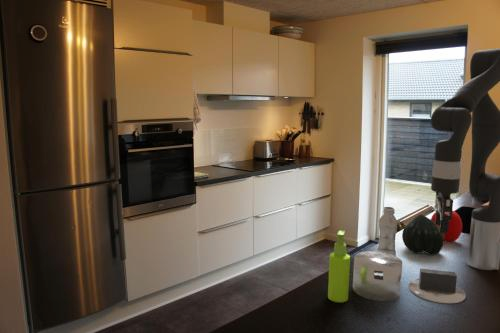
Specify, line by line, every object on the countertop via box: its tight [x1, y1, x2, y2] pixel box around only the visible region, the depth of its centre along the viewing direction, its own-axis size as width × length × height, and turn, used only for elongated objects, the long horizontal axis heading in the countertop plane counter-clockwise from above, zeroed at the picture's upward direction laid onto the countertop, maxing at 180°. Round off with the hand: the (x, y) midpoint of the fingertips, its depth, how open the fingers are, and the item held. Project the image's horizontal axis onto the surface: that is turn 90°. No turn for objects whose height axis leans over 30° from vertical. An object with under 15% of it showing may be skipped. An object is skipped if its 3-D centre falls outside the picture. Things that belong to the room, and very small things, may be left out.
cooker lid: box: [408, 267, 467, 304], centre depth 127 cm, size 16×16×6 cm
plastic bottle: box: [376, 206, 398, 257], centre depth 150 cm, size 6×7×20 cm
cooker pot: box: [352, 250, 403, 302], centre depth 127 cm, size 14×21×10 cm
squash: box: [401, 213, 445, 256], centre depth 162 cm, size 14×15×15 cm
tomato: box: [430, 209, 463, 243], centre depth 174 cm, size 13×11×14 cm
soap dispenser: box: [327, 229, 351, 303], centre depth 122 cm, size 6×7×20 cm
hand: (441, 228), depth 125 cm, fingers open, 8 cm apart
